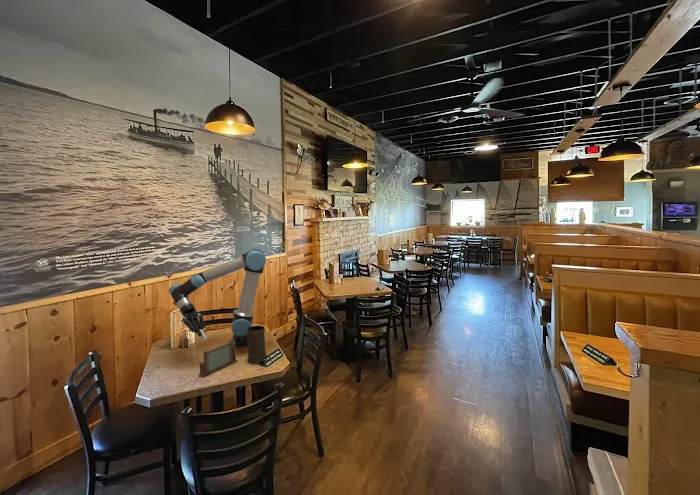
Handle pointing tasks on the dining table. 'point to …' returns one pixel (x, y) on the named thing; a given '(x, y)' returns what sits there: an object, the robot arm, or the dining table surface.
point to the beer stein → (256, 344)
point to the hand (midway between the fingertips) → (205, 339)
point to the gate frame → (203, 366)
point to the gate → (218, 356)
